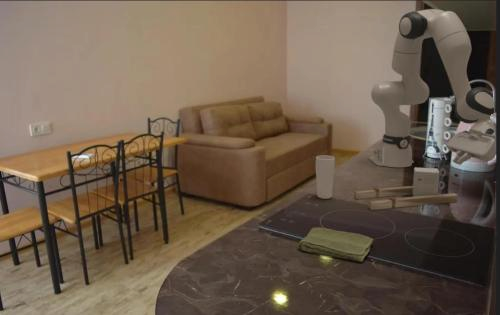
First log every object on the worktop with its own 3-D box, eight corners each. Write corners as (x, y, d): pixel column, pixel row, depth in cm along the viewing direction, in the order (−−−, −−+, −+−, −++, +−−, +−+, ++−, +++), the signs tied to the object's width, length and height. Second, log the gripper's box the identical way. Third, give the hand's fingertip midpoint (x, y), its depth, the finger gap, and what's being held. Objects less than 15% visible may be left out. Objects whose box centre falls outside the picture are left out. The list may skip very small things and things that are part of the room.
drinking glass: (333, 200, 142) (335, 159, 139) (314, 199, 144) (315, 159, 140) (333, 194, 149) (334, 155, 145) (315, 193, 150) (316, 155, 146)
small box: (435, 196, 144) (438, 168, 142) (437, 201, 139) (440, 172, 136) (412, 194, 147) (414, 166, 144) (412, 199, 141) (414, 170, 139)
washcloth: (364, 266, 97) (365, 254, 96) (296, 252, 105) (296, 241, 104) (374, 244, 108) (374, 233, 108) (312, 233, 116) (312, 223, 116)
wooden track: (354, 197, 145) (354, 189, 144) (432, 190, 150) (433, 182, 150) (371, 210, 132) (371, 201, 131) (456, 201, 138) (457, 192, 137)
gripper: (457, 124, 151) (432, 151, 151) (500, 132, 131) (472, 163, 131) (467, 135, 152) (442, 162, 153) (510, 145, 133) (482, 175, 133)
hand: (456, 162), depth 142 cm, fingers closed
